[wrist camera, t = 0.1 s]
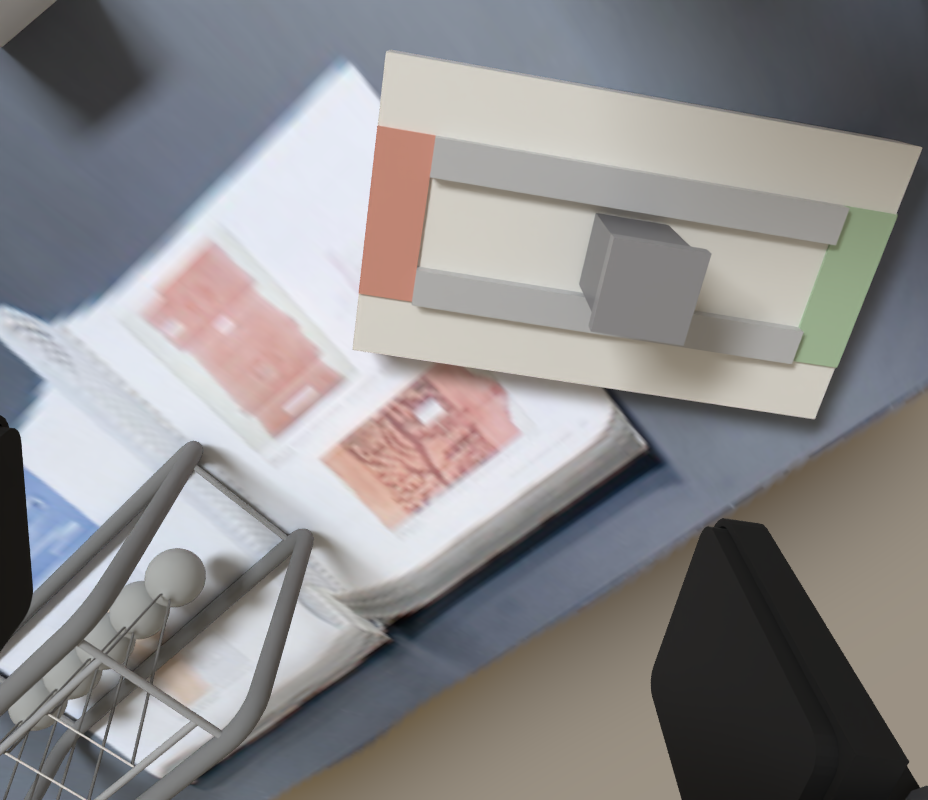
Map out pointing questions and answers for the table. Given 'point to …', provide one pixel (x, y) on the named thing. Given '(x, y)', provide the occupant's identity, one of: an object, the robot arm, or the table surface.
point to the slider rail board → (624, 195)
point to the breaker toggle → (641, 279)
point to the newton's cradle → (137, 617)
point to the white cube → (19, 16)
